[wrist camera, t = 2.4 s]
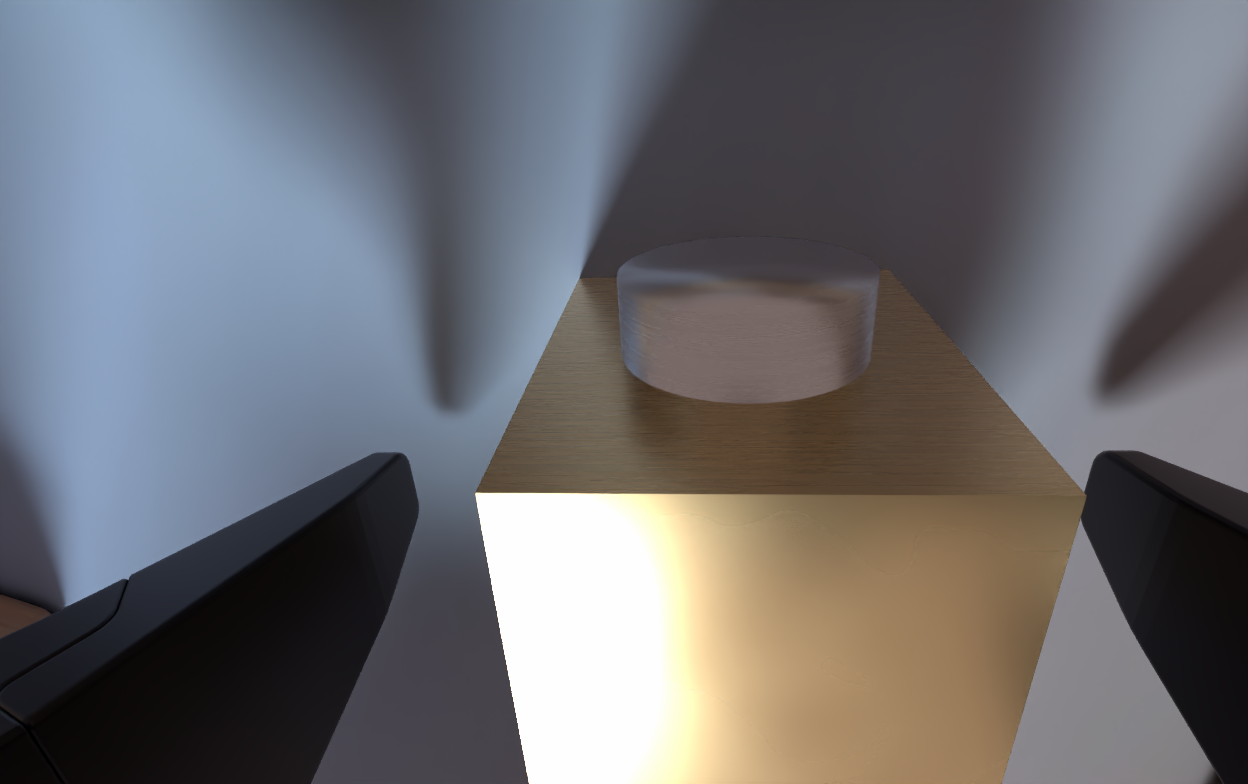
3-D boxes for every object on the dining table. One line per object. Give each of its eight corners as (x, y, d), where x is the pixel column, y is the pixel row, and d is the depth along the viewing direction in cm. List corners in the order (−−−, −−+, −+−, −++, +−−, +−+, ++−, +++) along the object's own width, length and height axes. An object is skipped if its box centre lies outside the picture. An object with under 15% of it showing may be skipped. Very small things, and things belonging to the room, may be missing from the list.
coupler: (575, 217, 9) (456, 390, 4) (894, 205, 8) (1119, 383, 4) (608, 602, 12) (557, 938, 7) (847, 607, 11) (947, 967, 7)
